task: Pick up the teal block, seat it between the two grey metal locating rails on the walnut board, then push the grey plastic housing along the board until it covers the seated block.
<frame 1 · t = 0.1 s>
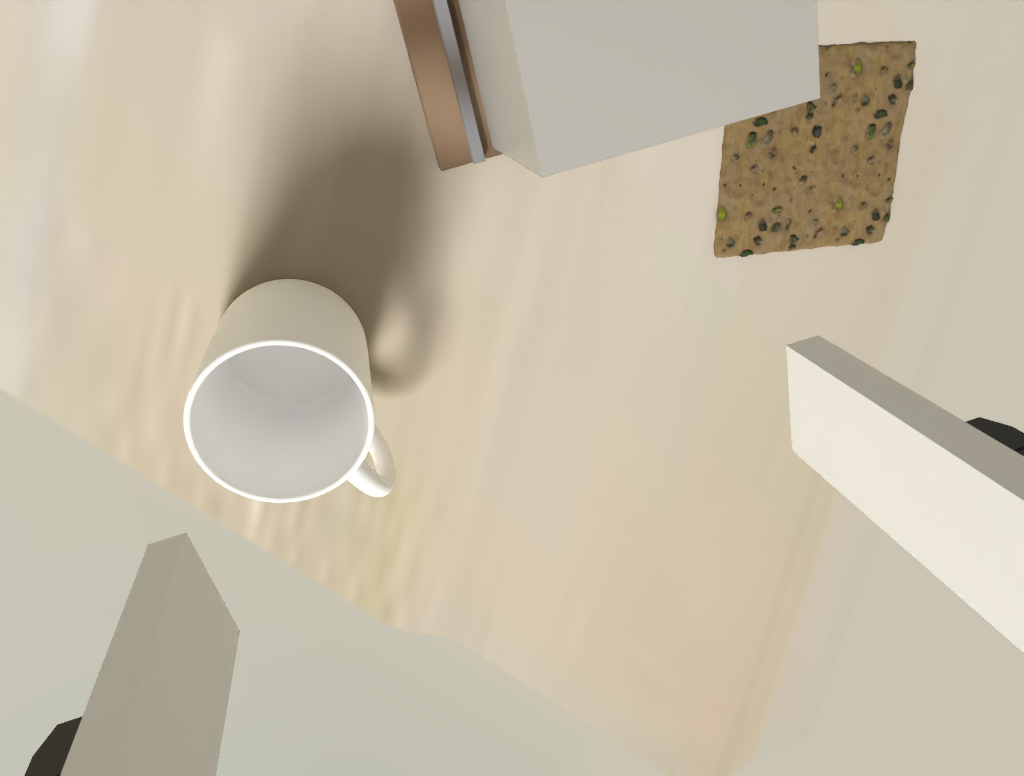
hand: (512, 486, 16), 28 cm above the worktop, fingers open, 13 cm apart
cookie: (806, 150, 45), on the worktop
housing: (620, 8, 32), point 7 cm above the worktop, slide at 0.0 cm
cup: (316, 365, 43), on the worktop
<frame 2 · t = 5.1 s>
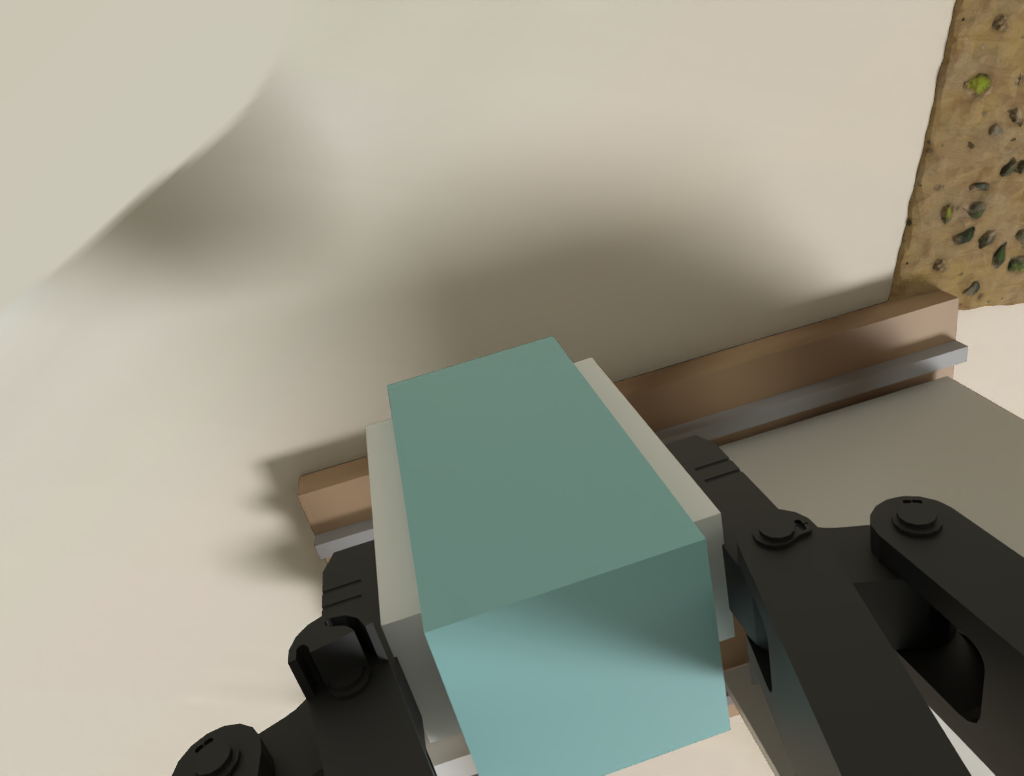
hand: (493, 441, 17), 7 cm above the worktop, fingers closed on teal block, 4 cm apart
board: (659, 566, 30), on the worktop
housing: (911, 634, 25), point 7 cm above the worktop, slide at 0.0 cm
teal block: (490, 432, 18), point 7 cm above the worktop, touching gripper
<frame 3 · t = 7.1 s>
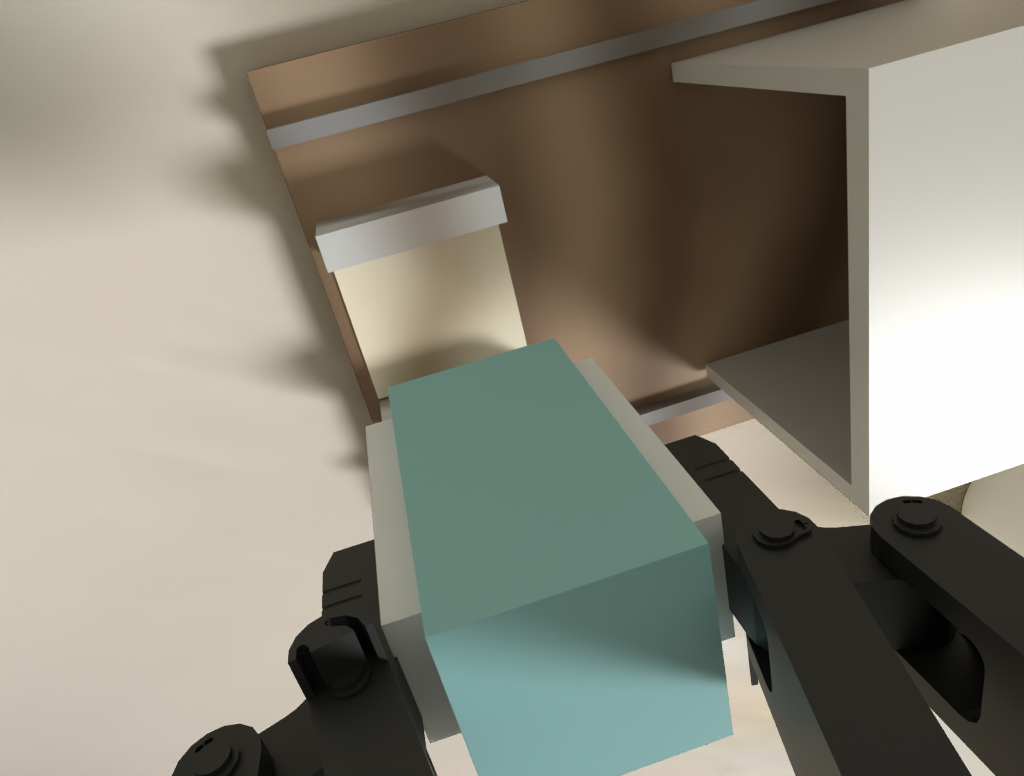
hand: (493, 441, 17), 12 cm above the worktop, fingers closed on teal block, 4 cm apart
board: (638, 237, 29), on the worktop
housing: (905, 228, 23), point 7 cm above the worktop, slide at 0.0 cm
teal block: (491, 434, 18), point 11 cm above the worktop, touching gripper
when the fingers open (2 cm above the worktop, at t = 9.3 s): teal block stays where it is, resting on board.
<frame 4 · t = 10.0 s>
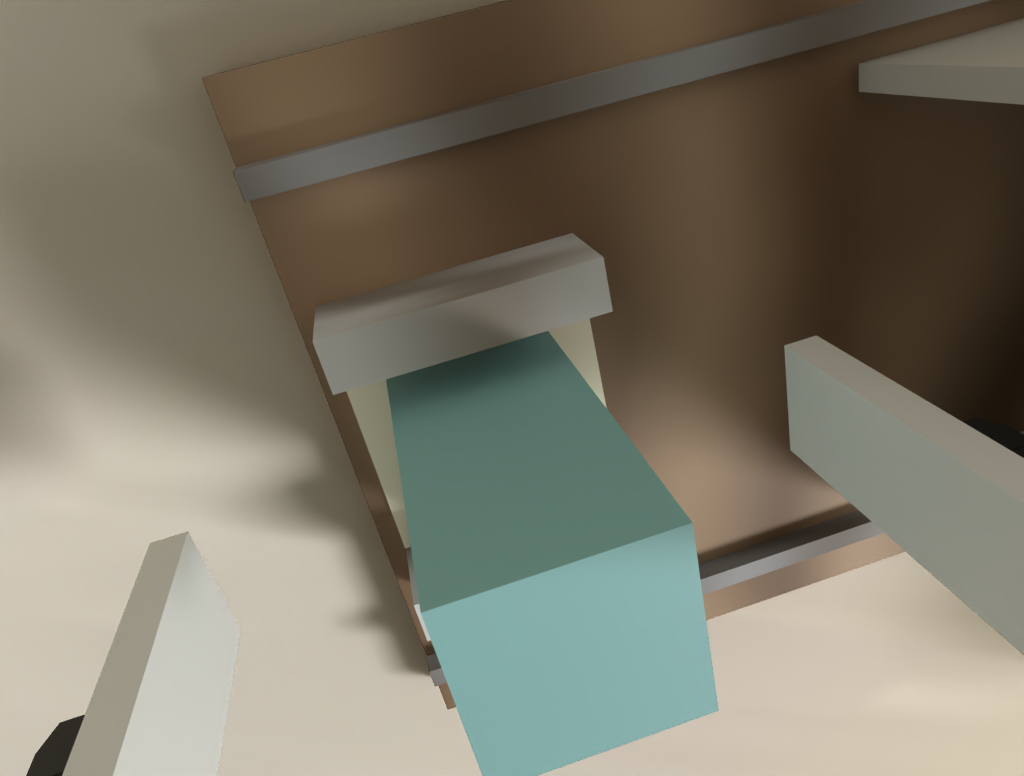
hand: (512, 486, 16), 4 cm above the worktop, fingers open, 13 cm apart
board: (775, 312, 20), on the worktop
teal block: (487, 426, 18), point 1 cm above the worktop, touching board
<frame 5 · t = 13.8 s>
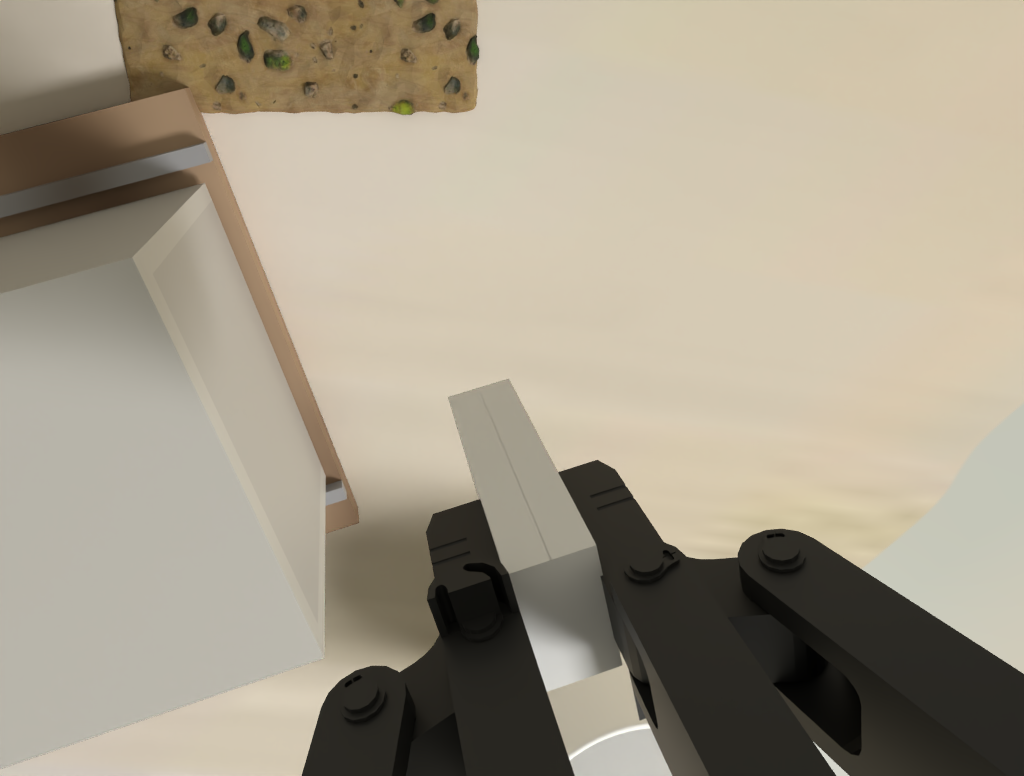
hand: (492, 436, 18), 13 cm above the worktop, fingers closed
housing: (98, 450, 22), point 7 cm above the worktop, slide at 0.0 cm
cup: (583, 602, 39), on the worktop
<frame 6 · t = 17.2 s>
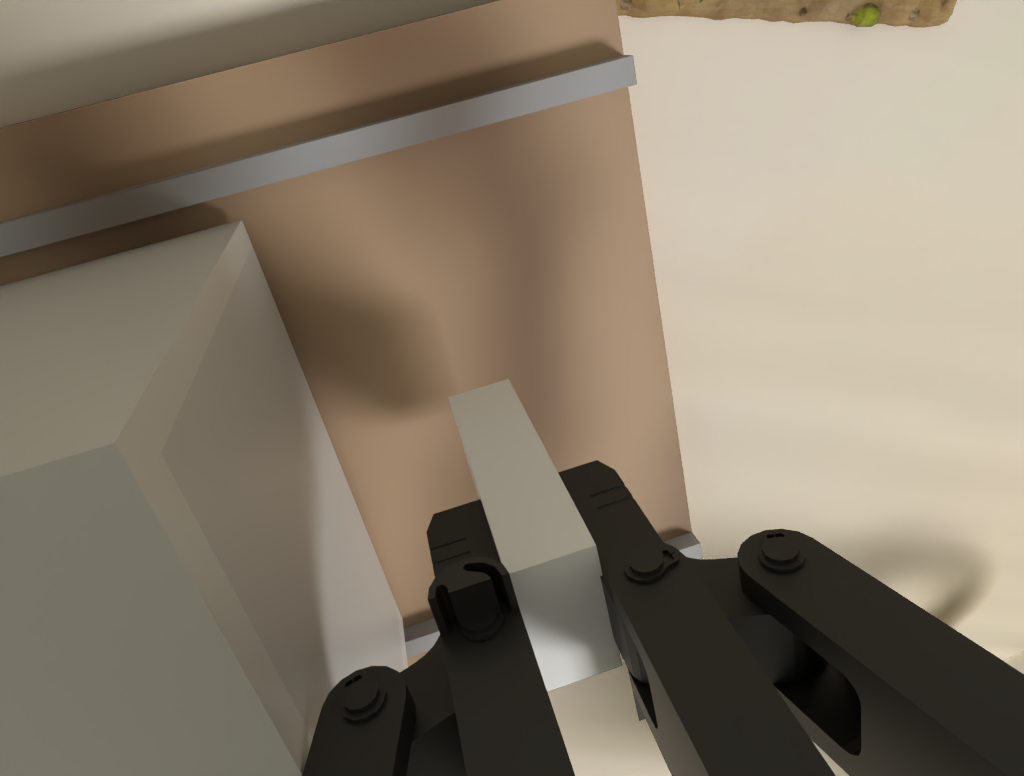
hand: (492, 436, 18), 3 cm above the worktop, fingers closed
board: (235, 452, 20), on the worktop
housing: (74, 660, 14), point 7 cm above the worktop, slide at 8.8 cm, touching hand
cup: (908, 672, 31), on the worktop
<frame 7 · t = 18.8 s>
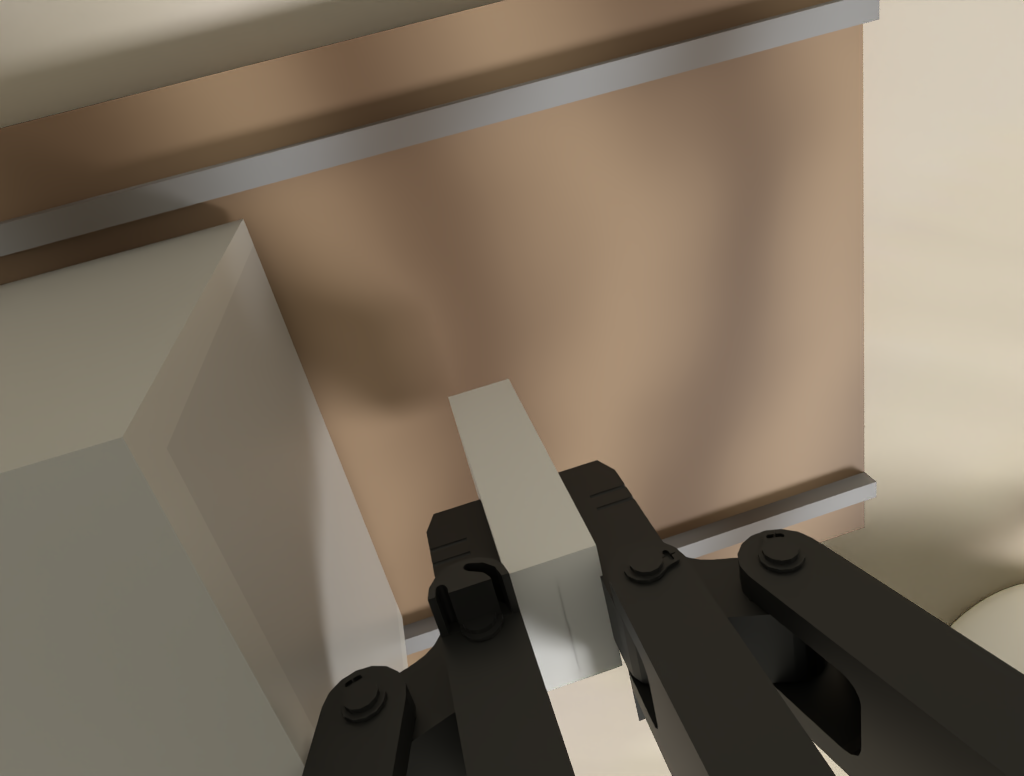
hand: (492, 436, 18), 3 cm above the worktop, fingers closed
board: (449, 385, 21), on the worktop
housing: (77, 656, 14), point 7 cm above the worktop, slide at 14.8 cm, touching hand
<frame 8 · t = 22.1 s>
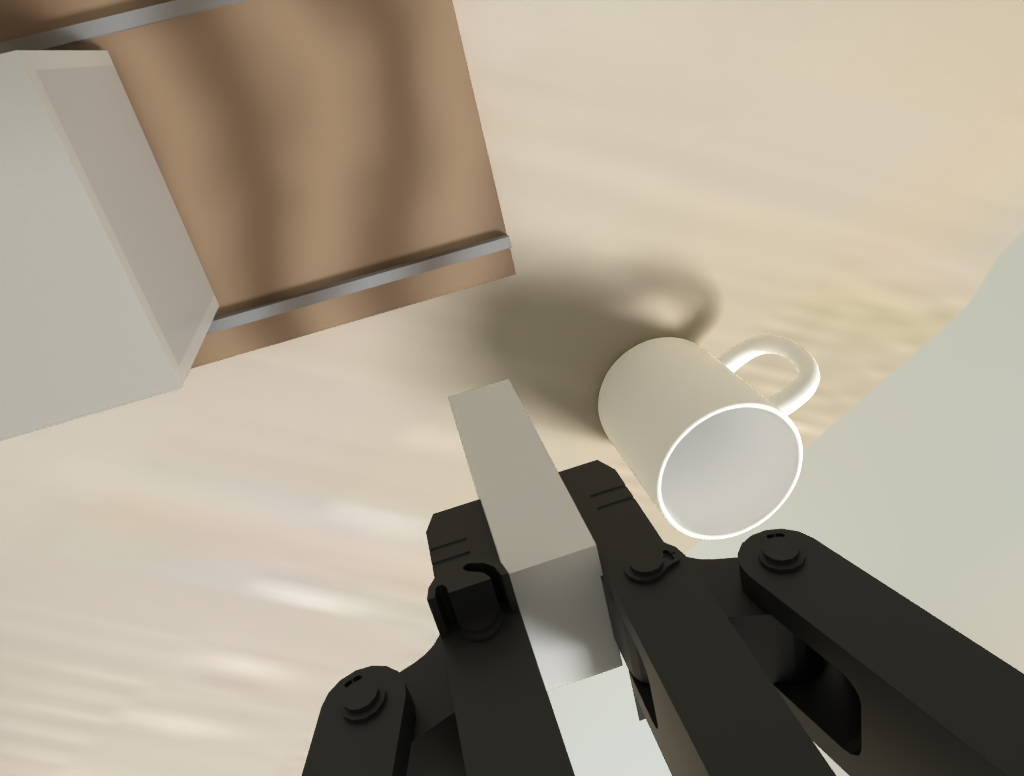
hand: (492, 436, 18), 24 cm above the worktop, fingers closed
board: (241, 165, 36), on the worktop
housing: (19, 242, 30), point 7 cm above the worktop, slide at 14.9 cm
cup: (677, 374, 47), on the worktop
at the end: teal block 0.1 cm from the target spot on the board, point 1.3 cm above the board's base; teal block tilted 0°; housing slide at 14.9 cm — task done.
